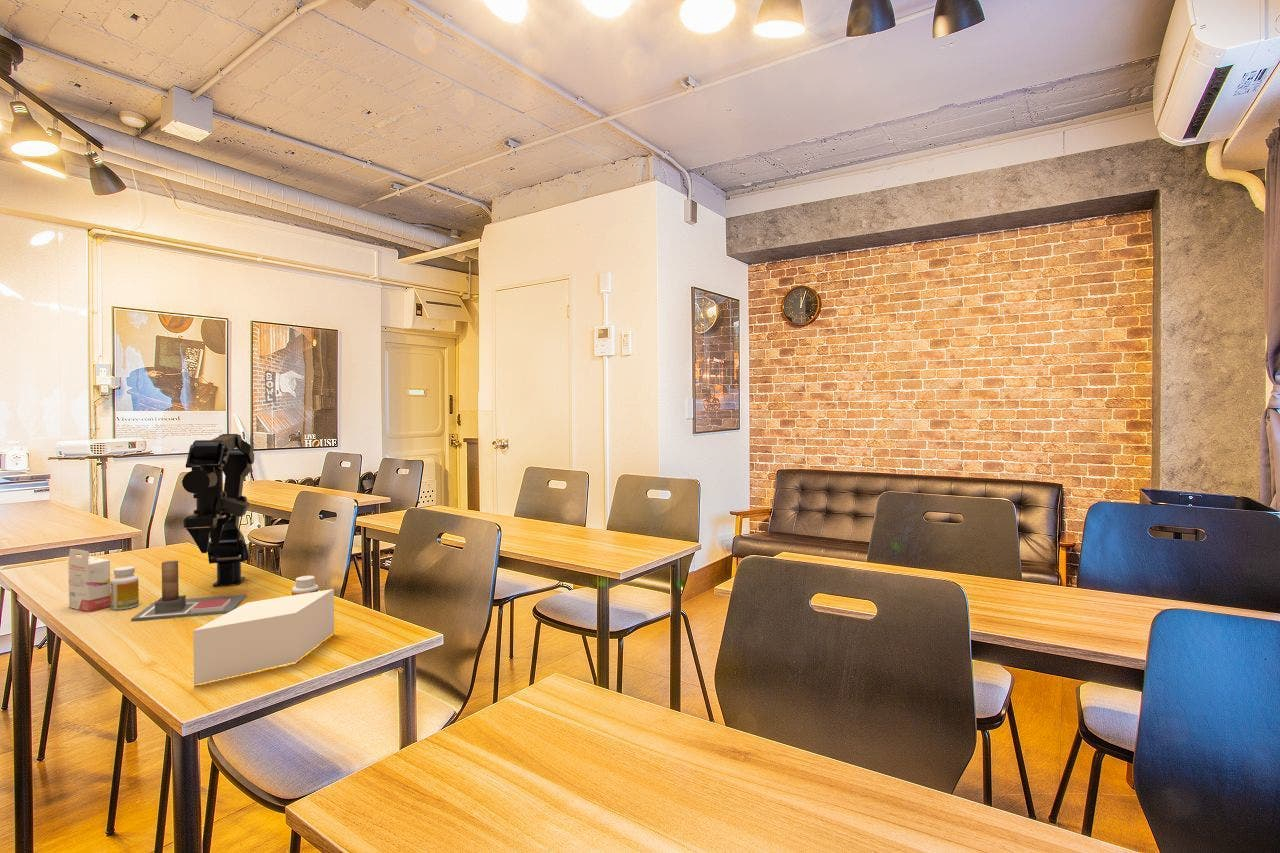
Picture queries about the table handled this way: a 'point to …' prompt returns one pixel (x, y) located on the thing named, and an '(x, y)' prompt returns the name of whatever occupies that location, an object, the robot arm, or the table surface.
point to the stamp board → (195, 607)
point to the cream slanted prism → (262, 635)
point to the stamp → (170, 590)
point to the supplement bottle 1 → (124, 588)
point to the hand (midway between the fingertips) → (210, 549)
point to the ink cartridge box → (88, 582)
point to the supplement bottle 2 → (305, 585)
